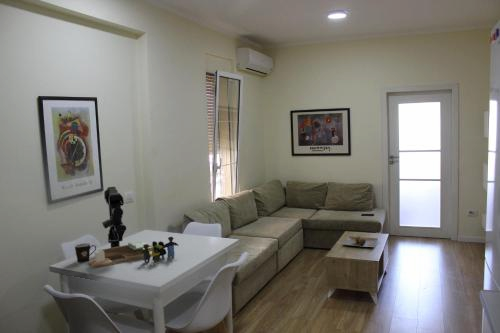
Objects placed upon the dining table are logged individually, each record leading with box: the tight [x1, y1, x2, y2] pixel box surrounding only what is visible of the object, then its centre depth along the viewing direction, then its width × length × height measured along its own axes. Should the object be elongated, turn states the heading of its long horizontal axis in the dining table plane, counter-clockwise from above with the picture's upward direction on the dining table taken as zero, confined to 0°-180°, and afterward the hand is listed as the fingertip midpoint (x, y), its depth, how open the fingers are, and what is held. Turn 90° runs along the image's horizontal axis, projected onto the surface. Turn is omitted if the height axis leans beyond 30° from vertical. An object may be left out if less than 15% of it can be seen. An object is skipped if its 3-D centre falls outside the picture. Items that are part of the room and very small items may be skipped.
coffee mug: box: [74, 242, 97, 263], centre depth 252 cm, size 12×9×10 cm
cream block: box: [93, 249, 105, 262], centre depth 245 cm, size 4×4×6 cm
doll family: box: [140, 236, 179, 264], centre depth 249 cm, size 23×9×13 cm, turn 139°
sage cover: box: [127, 241, 153, 250], centre depth 258 cm, size 10×11×2 cm
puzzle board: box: [88, 242, 153, 269], centre depth 251 cm, size 13×34×7 cm, turn 124°
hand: (117, 239), depth 256 cm, fingers open, 9 cm apart
